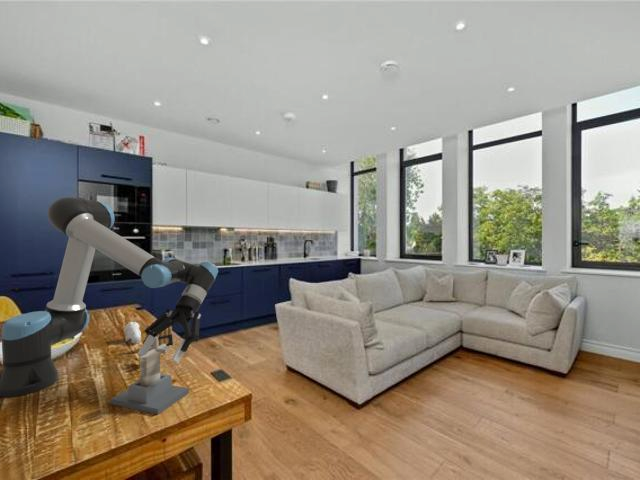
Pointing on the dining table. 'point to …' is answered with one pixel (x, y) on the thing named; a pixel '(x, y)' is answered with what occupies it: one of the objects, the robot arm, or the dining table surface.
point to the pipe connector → (158, 347)
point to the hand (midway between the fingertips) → (157, 358)
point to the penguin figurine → (132, 332)
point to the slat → (149, 368)
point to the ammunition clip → (164, 337)
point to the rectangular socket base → (151, 395)
